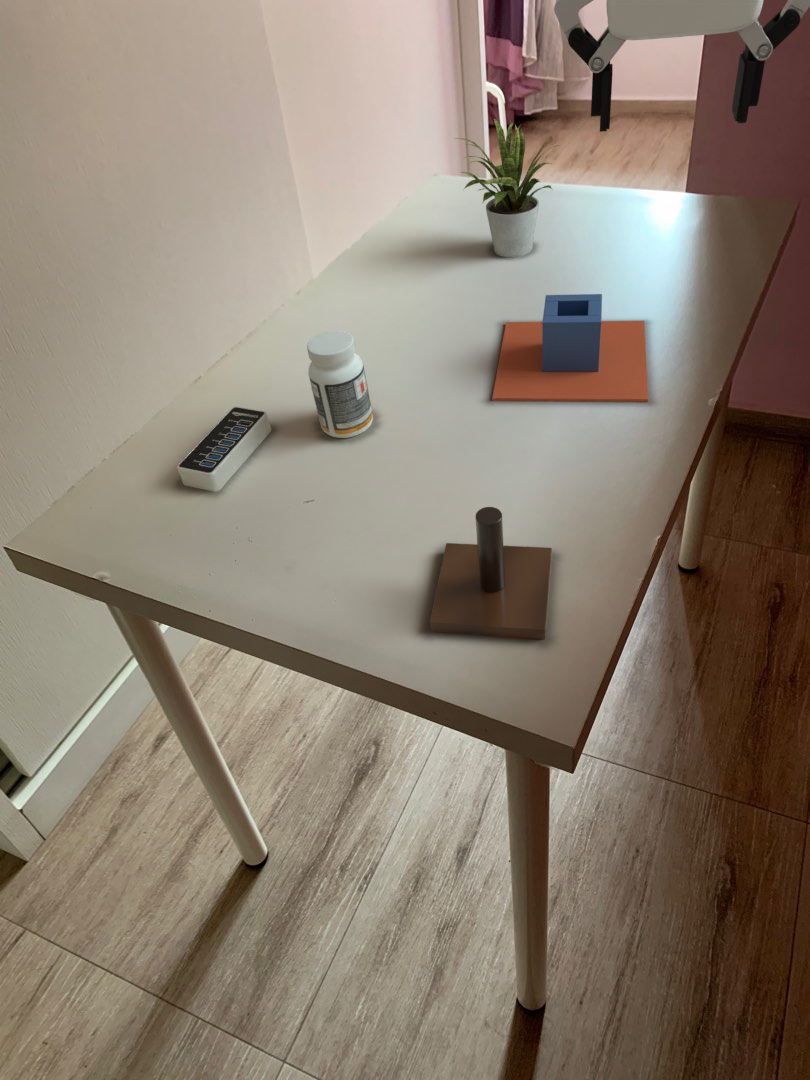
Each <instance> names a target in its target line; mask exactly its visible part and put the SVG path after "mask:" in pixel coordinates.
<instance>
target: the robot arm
mask: <svg viewBox="0 0 810 1080" xmlns="http://www.w3.org/2000/svg"><path fill="white" fill-rule="evenodd" d="M593 1H594V0H556V1H555V3H554V8H553V11H554V14H555V17H556V19H557V21H558V23H559V26H560V28H561V30H562V32H563V34H564V35H565V38H566V40H567V43H568V45H569V47H570V48H571V49H572V50H573V52H575V54H576V55H577V56H578V57H579V58H580V59H581V60H582V61H583V62H584V63H585V64H586V65H587V66H588V68H589V71H590V72H591V73H592V77H591V78H592V81H591V105H590V117H591V118H592V117H599V132H600V133H602V132H603V133H604V132H607V131H608V130H610V127H611V110H612V109H611V107H612V91H613V67H614V65H613V63H611V60H613V58H614V57H615V55H617V53H618V52H619V51H620V49H621V47H623V45H624V44H625V43H626V41H646V40H659V39H672V38H682V37H683V38H684V37H696V36H697V37H698V36H707V35H717V34H728V33H734V32H737V33H738V35H739V36H740V37H741V39H742V40H743V42H744V44H745V47H744V50H742V53H740V54H739V59H738V63H737V64H738V65H737V70H736V71H737V72H736V80H735V85H734V91H733V99H732V105H731V112H732V115H733V118H734V122H737V124H746V123H747V121H748V116H749V109H750V107H757V106H758V104H759V99H760V93H761V87H762V82H763V77H764V69H765V65H766V60H767V59H769V58H770V57H771V56H772V54H773V52H774V50H776V48H777V47H778V46H780V44H782V42H784V41H785V40H786V39H787V38H788V37H789V36H790V35H791V34H792V33H793V32H794V31H795V30H796V29H797V28H798V27H799V25H800V23H801V20H802V18H803V17H804V15H805V14H806V13H807V12H808V10H809V9H810V0H787V2H786V3H785V5H784V7H782V8H781V9H779V11H778V12H777V13H776V14H775V15H774V16H773V17H772V18H771V19H770V20H769V21H768V22H767V23H766V24H765V25H764V26H763V25H762V24H761V22H760V21H759V20H758V19H759V17H760V15H761V12H762V8H763V4H764V0H606V15H607V27H606V28H605V29H604V31H603V32H602V34H601V35H600V36H599V37H598V39H596V38H595V37H594V36H593V35H592V34H591V33H590V32H589V31H588V30H587V28H586V27H585V26H584V24H583V22H582V20H581V17H580V15H579V12H580V10H582V9H583V8H584V7H586V6H587V5H589V4H591V3H592V2H593Z"/></svg>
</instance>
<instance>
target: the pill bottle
mask: <svg viewBox="0 0 810 1080" xmlns="http://www.w3.org/2000/svg"><path fill="white" fill-rule="evenodd" d="M306 347H307V349H306V350H307V355H308V358H309V360H310V361H311V362H310V364H309V366H308V377H309V382H310V387H311V391H312V395H313V399H314V404H315V407H316V412H317V417H318V420H319V424H320V427H321V429H322V431H323V432H324V433H325V434H327V435H328V436H330V437H333V438H339V439H345V438H352V437H353V438H354V437H355V436H358V435H361V434H363V433H364V432H365V431H367V430H368V429H369V428H370V427H371V425H372V423H373V419H374V415H373V414H374V413H373V408H372V403H371V402H372V401H371V398H370V393H369V387H368V383H367V382H368V381H367V377H366V372H365V371H366V370H365V365H364V363H363V360H362V358H361V356H359V354H358V353H356V349H357V348H356V343H355V339H354V337H353V335H352V334H350V333H349V332H347V331H344V330H328V331H324V332H321V333H318V334H316V335H314V336H313V337H311V338H310V339H309V341H308V342H307V345H306Z"/></svg>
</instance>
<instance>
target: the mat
mask: <svg viewBox="0 0 810 1080" xmlns="http://www.w3.org/2000/svg"><path fill="white" fill-rule="evenodd" d="M542 322H543V321H507V322H505V326H504V333H503V337H502V343H501V346H500V347H501V348H500V353H499V358H498V363H497V369H496V374H495V382H494V385H493V392H492V396H491V402H500V401H501V402H587V403H588V402H595V403H596V402H597V403H599V402H600V403H601V402H603V403H606V402H607V403H611V402H612V403H648V402H649V386H648V368H647V367H648V362H647V346H646V326H645V324H646V323H645V320H601V337H600V355H599V371H598V372H543V371H542Z"/></svg>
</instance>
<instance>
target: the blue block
mask: <svg viewBox="0 0 810 1080" xmlns="http://www.w3.org/2000/svg"><path fill="white" fill-rule="evenodd" d="M544 298H545V299H544V307H543V315H542V321H541V322H542V371H543V372H598V371H599V355H600V337H601V321H602V315H603V314H602V312H603V310H602V309H603V294H602V293H580V294H578V293H577V294H545V297H544Z"/></svg>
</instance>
